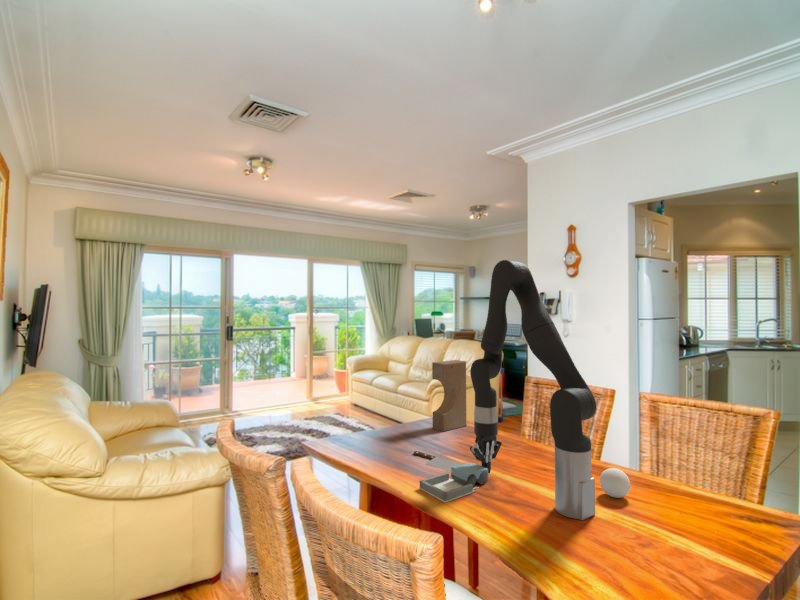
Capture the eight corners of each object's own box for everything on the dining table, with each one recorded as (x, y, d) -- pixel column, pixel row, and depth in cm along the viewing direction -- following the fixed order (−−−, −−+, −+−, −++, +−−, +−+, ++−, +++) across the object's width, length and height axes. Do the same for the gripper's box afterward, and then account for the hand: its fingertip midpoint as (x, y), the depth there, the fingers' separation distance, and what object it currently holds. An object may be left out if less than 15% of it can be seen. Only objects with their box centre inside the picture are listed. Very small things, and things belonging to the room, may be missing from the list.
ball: (594, 491, 128) (594, 464, 128) (619, 490, 129) (619, 463, 129) (609, 503, 120) (609, 474, 120) (636, 502, 121) (636, 473, 121)
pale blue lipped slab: (488, 483, 135) (489, 468, 135) (466, 488, 129) (467, 473, 129) (473, 475, 141) (473, 462, 141) (450, 480, 135) (451, 466, 135)
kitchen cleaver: (402, 457, 156) (419, 449, 164) (402, 460, 156) (419, 451, 164) (458, 475, 140) (474, 465, 148) (458, 478, 140) (474, 468, 148)
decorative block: (455, 422, 205) (454, 359, 205) (466, 426, 199) (466, 361, 199) (432, 428, 195) (431, 362, 196) (443, 432, 189) (443, 364, 190)
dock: (482, 489, 130) (482, 481, 130) (445, 503, 121) (445, 494, 121) (456, 477, 139) (456, 469, 139) (419, 489, 130) (419, 480, 130)
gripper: (479, 425, 133) (480, 481, 132) (508, 418, 140) (508, 471, 140) (462, 420, 139) (463, 474, 138) (491, 414, 146) (491, 465, 146)
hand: (486, 472), depth 139 cm, fingers closed
